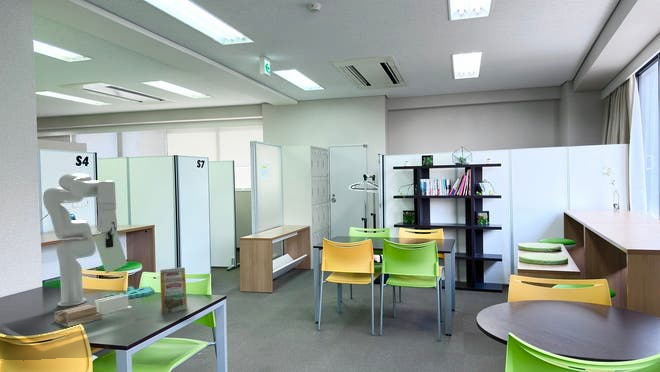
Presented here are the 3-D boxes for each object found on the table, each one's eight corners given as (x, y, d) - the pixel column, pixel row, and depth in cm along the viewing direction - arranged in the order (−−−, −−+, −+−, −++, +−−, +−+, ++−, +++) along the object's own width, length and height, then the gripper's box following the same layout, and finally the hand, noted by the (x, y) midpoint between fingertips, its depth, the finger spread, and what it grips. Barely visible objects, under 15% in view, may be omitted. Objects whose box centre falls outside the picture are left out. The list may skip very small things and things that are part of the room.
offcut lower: (63, 323, 180) (62, 317, 180) (90, 316, 189) (90, 310, 189) (69, 325, 176) (68, 319, 176) (97, 318, 185) (96, 312, 185)
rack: (54, 325, 183) (54, 312, 183) (87, 316, 193) (86, 304, 193) (68, 330, 174) (68, 317, 174) (102, 321, 184) (101, 308, 184)
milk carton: (186, 305, 205) (184, 265, 205) (186, 311, 195) (185, 269, 195) (162, 308, 202) (160, 267, 202) (161, 314, 192) (160, 271, 192)
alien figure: (104, 300, 224) (138, 300, 220) (104, 295, 224) (138, 296, 220) (129, 290, 244) (161, 290, 240) (129, 286, 244) (161, 286, 240)
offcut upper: (62, 317, 180) (62, 311, 180) (90, 310, 189) (90, 304, 189) (68, 319, 176) (68, 313, 176) (96, 312, 185) (96, 306, 185)
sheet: (105, 273, 198) (93, 236, 195) (126, 263, 206) (114, 228, 202) (107, 273, 198) (94, 236, 194) (127, 264, 205) (115, 228, 202)
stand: (94, 314, 196) (94, 300, 196) (122, 307, 206) (122, 293, 206) (104, 317, 191) (103, 302, 191) (132, 309, 201) (131, 296, 201)
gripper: (91, 208, 201) (92, 247, 201) (106, 208, 192) (108, 249, 192) (107, 207, 207) (109, 245, 207) (123, 206, 197) (125, 247, 198)
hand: (108, 247), depth 199 cm, fingers closed on sheet, 1 cm apart
